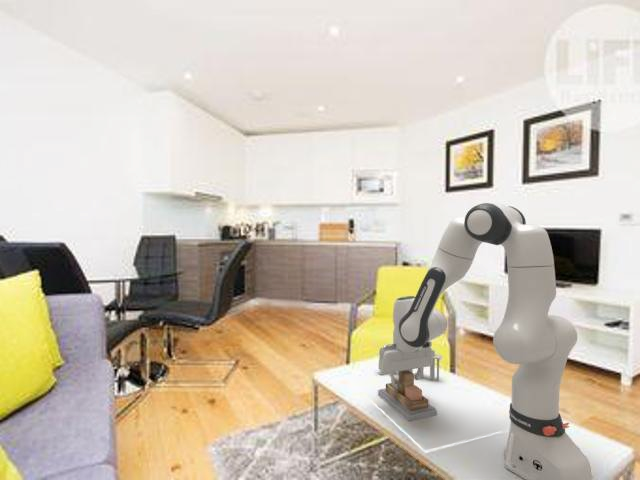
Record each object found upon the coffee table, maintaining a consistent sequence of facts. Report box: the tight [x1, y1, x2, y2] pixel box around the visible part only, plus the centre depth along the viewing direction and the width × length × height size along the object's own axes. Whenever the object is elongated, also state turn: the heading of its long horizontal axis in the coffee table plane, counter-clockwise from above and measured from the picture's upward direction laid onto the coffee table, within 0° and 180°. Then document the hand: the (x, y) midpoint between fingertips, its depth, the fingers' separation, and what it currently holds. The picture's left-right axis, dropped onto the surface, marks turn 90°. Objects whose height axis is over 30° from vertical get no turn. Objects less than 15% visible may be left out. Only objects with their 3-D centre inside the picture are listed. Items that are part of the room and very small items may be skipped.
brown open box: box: [385, 370, 429, 411], centre depth 132 cm, size 16×7×10 cm, turn 20°
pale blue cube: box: [390, 375, 399, 392], centre depth 136 cm, size 4×4×4 cm
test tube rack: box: [379, 343, 443, 382], centre depth 156 cm, size 25×4×13 cm, turn 64°
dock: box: [377, 387, 438, 422], centre depth 132 cm, size 20×11×3 cm, turn 20°
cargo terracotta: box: [405, 384, 423, 402], centre depth 128 cm, size 4×4×4 cm
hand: (406, 381), depth 132 cm, fingers open, 8 cm apart
